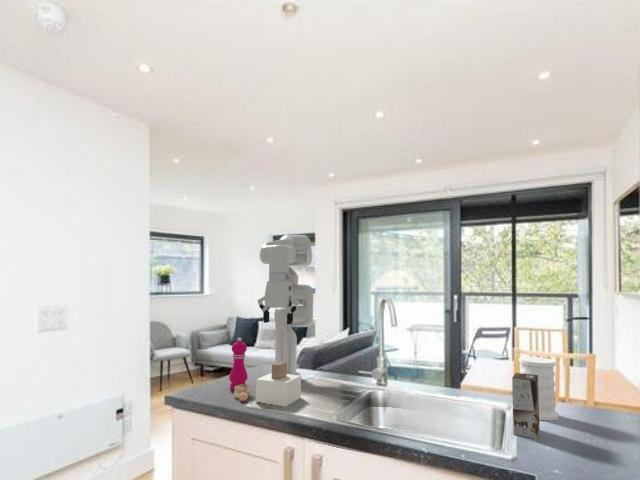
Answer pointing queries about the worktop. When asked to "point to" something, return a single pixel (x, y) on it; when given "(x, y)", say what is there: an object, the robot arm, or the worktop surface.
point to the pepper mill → (238, 364)
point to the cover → (278, 386)
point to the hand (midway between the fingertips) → (277, 323)
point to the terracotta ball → (243, 396)
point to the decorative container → (542, 384)
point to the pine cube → (241, 390)
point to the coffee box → (525, 405)
